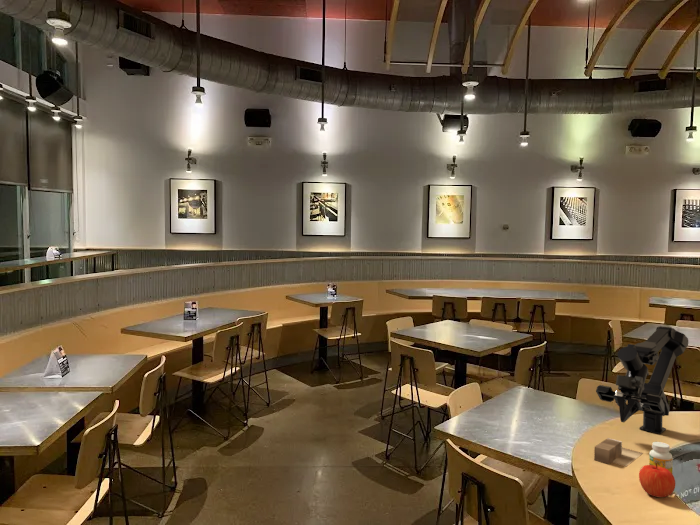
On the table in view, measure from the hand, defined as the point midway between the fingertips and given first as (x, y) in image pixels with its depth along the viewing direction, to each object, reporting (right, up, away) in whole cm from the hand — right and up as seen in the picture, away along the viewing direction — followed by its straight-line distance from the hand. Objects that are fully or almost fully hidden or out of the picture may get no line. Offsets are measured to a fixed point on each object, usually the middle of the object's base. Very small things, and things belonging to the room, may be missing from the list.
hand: (622, 421), depth 160 cm
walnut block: (-4, -6, -4) cm, 8 cm away
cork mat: (-3, -9, -6) cm, 11 cm away
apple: (-7, -10, -29) cm, 31 cm away
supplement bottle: (-1, -9, -21) cm, 23 cm away
